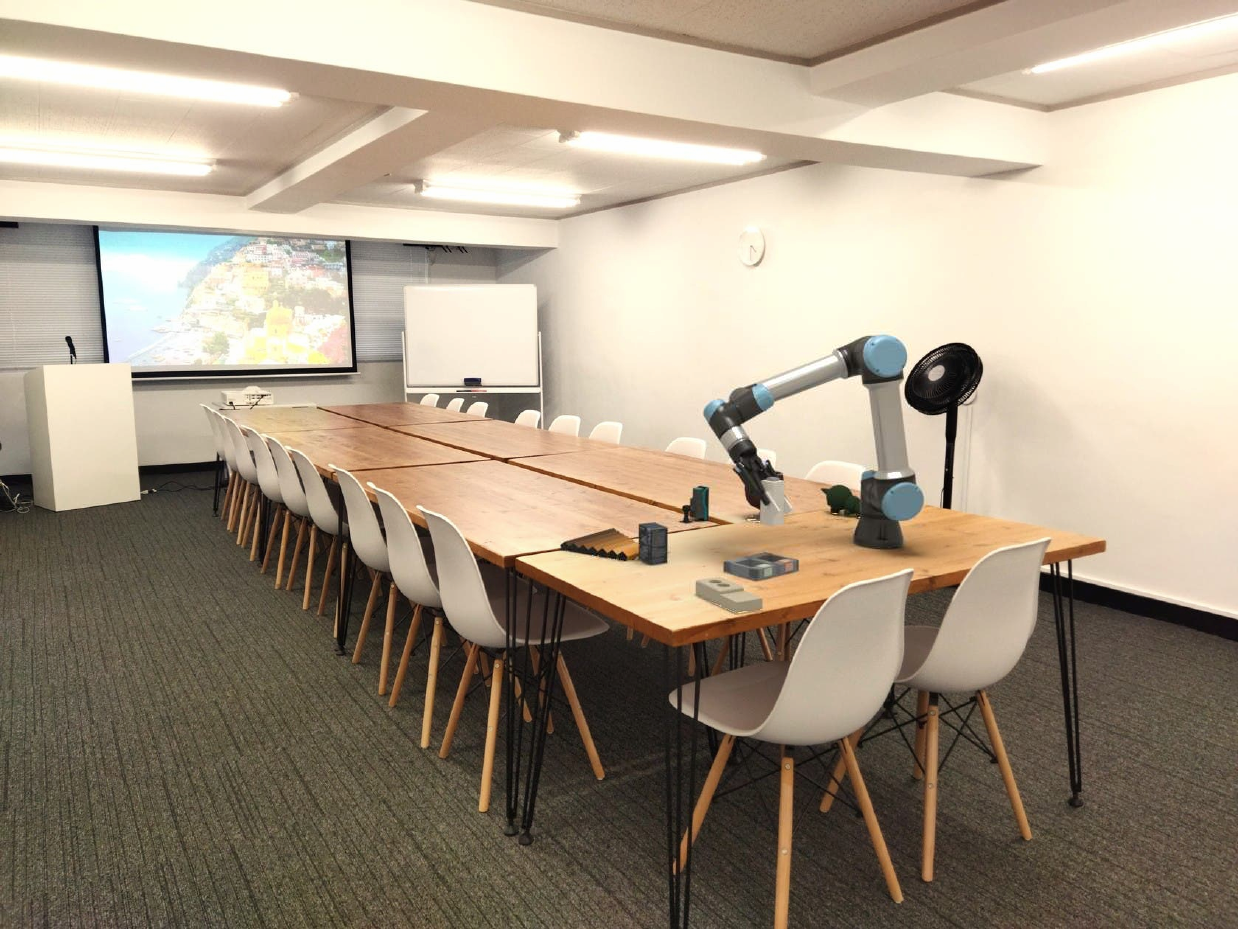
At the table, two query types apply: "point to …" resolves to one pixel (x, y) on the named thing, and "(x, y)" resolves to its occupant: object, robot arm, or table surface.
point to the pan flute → (604, 545)
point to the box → (653, 543)
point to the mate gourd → (757, 502)
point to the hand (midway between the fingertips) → (782, 512)
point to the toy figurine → (842, 500)
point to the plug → (777, 494)
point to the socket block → (761, 566)
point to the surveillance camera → (697, 505)
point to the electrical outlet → (727, 595)
